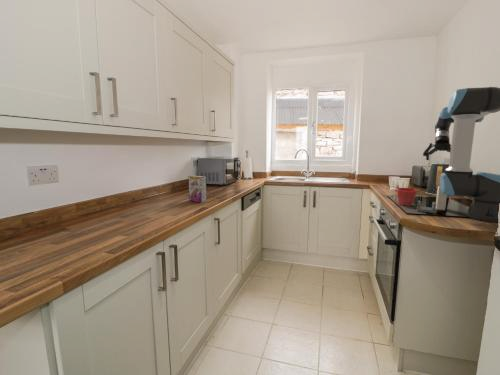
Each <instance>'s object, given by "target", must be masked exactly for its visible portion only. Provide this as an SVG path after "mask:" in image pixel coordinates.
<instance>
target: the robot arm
mask: <svg viewBox="0 0 500 375" xmlns="http://www.w3.org/2000/svg"><path fill="white" fill-rule="evenodd" d="M497 112H500V87H497V86H488V87H487V86H486V87H466V88H459V89H455V91H454V92H453V93H452V94H451V96H450V99H449V100H448V104H447V106H445V107H443V108H441V111H440V113H439V115H438V119H437V121H436V122H435V123H434V124H435V125H434V144H433V143H432V142H431V143H429V146H428V147H426V148H425V150H424V151H423V153H422V156H423V157H426V158H425V160H426V161H427V166H430V165H431V155H433V154H434V153H435V152H436V153H437V151H438V152H439V151H440V152H445V151H446V152H448V153H449V161H448V167H446V168H445V169H444V172H442V173H441V174H440V175H439V186H440V189H441V192H442V193H443V194H444V195H447V196H450V197H467V198H472V202H471V204H470V206H469V208H468V209H467V211H466V217H467V216H468V218H470V219H473V220H477V221H478V220H479V221H483V222H491V223H499V222H498V211H499V203H500V174H496V173H490V172H485V171H477V172H476V173H475V174H474V173H473V172H474V170H473V169H472V168H471V167H470V166H471V161H472V159H471V158H472V151H473V144H474V135H475V129H476V128H475V127H476V123H481V122H482V121H483V120H484V118H485V117H486V116H487V115H490V114H495V113H497ZM452 124H453V128H452V136H451V143H450V127H451V125H452ZM432 148H433V149H432Z"/></svg>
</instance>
